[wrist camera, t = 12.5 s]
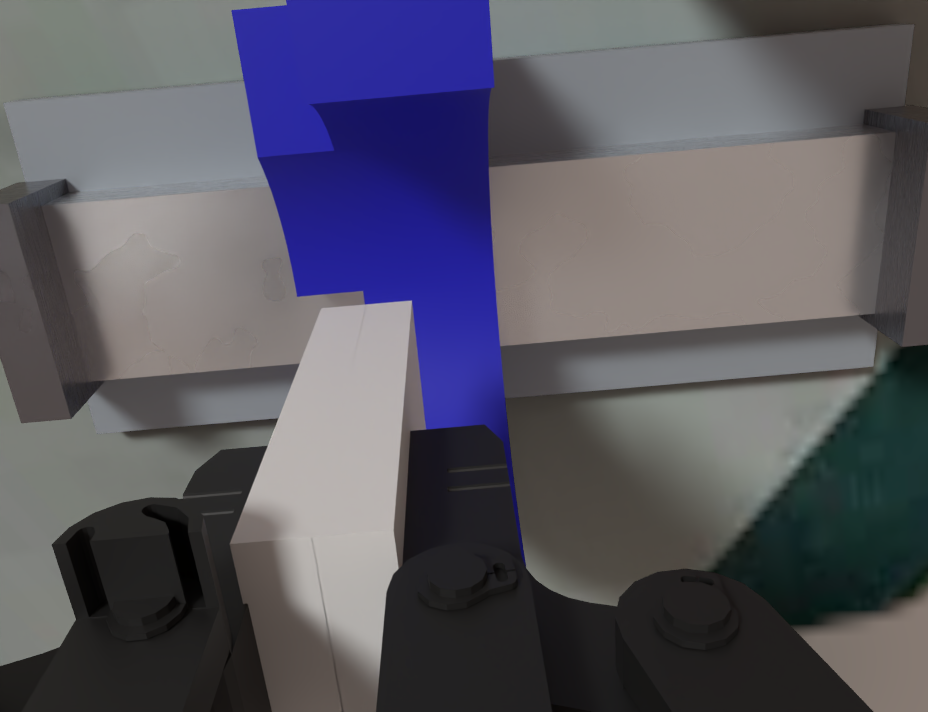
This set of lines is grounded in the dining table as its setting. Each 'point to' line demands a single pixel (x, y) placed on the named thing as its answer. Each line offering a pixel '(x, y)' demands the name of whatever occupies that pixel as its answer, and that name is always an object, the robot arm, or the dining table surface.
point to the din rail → (514, 253)
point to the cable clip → (388, 174)
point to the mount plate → (509, 132)
